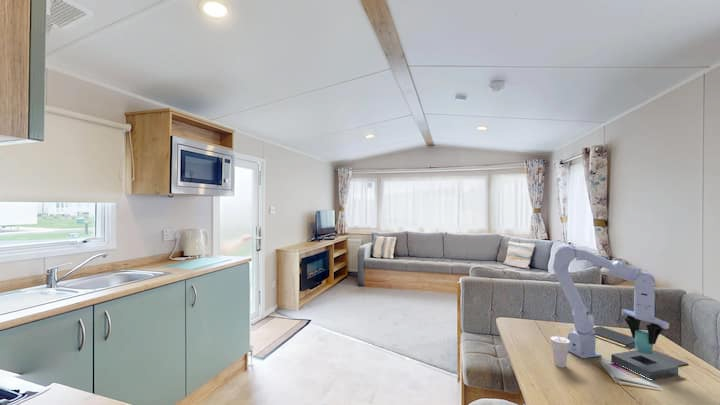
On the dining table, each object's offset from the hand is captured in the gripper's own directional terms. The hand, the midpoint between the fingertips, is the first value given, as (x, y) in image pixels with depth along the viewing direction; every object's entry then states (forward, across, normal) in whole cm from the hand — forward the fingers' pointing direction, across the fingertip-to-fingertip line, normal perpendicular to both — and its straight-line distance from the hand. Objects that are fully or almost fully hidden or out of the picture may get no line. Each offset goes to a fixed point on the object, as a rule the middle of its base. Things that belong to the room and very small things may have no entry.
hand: (643, 340), depth 118 cm
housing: (+10, 0, 0) cm, 10 cm away
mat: (+10, +3, -14) cm, 18 cm away
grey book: (+11, +23, -16) cm, 30 cm away
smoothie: (+10, +10, +28) cm, 32 cm away
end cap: (+4, 0, 0) cm, 4 cm away
